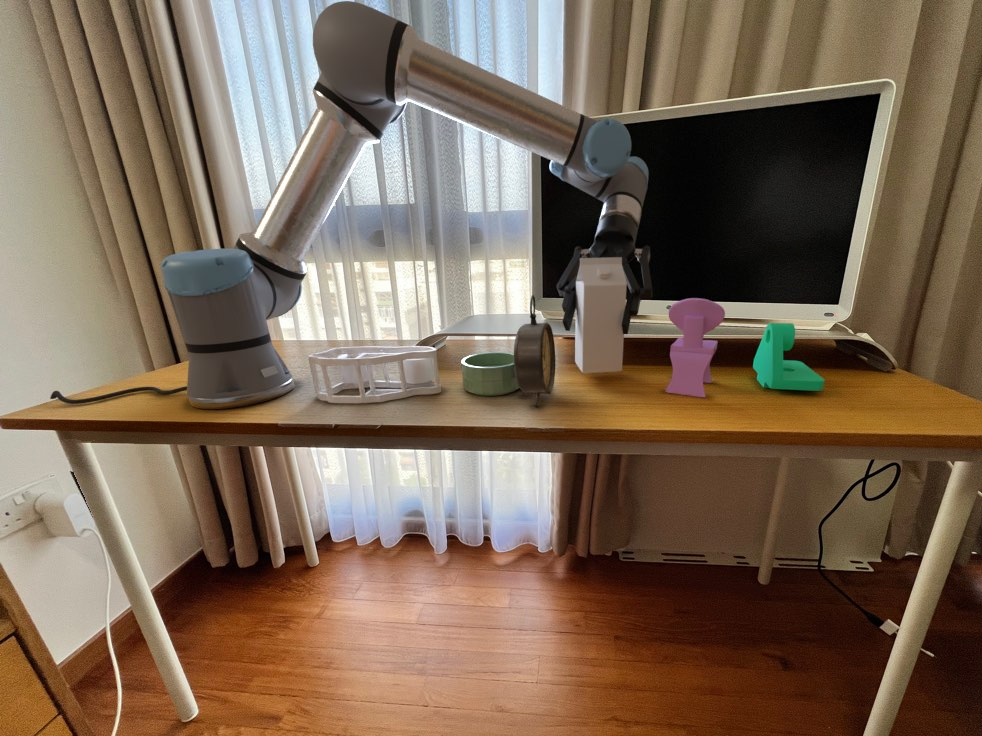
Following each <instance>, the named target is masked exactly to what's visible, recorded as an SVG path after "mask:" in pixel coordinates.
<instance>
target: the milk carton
mask: <svg viewBox="0 0 982 736" xmlns="http://www.w3.org/2000/svg"><path fill="white" fill-rule="evenodd" d="M627 287H628V285H627V283H626V279H625V275H624V271H623V267H622V257H610V258H591V257H587V258H580V267H579V271H578V274H577V279H576V309H575V321H574V322H575V325H574V327H575V328H574V329H575V330H574V331H575V332H574V363H575V364H576V366H577V368H578V369H579V370H580V372H581V373H582V374H596V373H597V374H598V373H616V372H617V373H618V372H619V373H620V372H622V371H623V358H624V340H625V334H623V330H622V320H623V316H624V311H625V306H626V301H627Z"/></svg>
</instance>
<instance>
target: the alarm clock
mask: <svg viewBox="0 0 982 736" xmlns="http://www.w3.org/2000/svg"><path fill="white" fill-rule="evenodd" d="M529 314H530V315H529V318H530V323H524V324H522V325H521V326H520V327H519V328H518V330H517V332H516V335H515V339H514V344H513V354H514V364H513V367H514V369H515V375H516V379H517V383H518V385H519V387H520V388H519V389H520V390H521V391H522V392H523V394H522V396H521V397H523V396H524V395H525V394H527V395H534V408H539V401H540V395H542V394H543V395H549V394H551V392H552V391H553V390H554V389H553V388H554V385H555V378H556V345H555V338H554V332H553V329H552V326H551V324H550V323H549V322H537V314H536V297H535V295H534V294H532V295H531V297H530V301H529Z"/></svg>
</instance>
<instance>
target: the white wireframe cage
mask: <svg viewBox="0 0 982 736" xmlns="http://www.w3.org/2000/svg"><path fill="white" fill-rule="evenodd" d="M335 356H337V357H335ZM308 363H309V369H310V372H311V373H310V374H311V377H312V382H313V385H314V391H315V394H316V398H317V399H318V400H319V401H326V402H327V403H329V404H369V403H384V402H387V401H392V400H400V399H404V398H408V397H411V396H412V397H413V396H417V395H418V396H419V395H435V394H439V393H441V392H442V385H441V383H440V381H441V380H440V372H439V365H438V351H437V348H435V347H433V346H425V345H405V346H379V345H378V346H377V345H374V346H373V345H363V346H362V345H360V346H349V347H348V346H343V347H342V346H341V347H333V348H330V349H328V350H324V351H320V352H316V353H312V354H311V353H310V354H308ZM388 363H397V366H398V367H397V368H398V373H399V378H400V379H399V380H400V381H398V380H397V381H396V380H395V381H394V380H391V379H390V378H391V377H390V372H389V365H388ZM317 365H319V366H320V367H321V372H322V377H323V380H324V385H325V388H324V389H322V388H321V384H320V379H319V375H318V370H317ZM377 365H381V366H382V370H383V377H384V380H375V378H376V377H377V376H376V369H375V366H377ZM328 367H338V370H339V374H340V380H341V382H339V383H337V384H335V385H333V386H332V383H331V379H330V374H329V368H328ZM365 388H369V390H368V391H367V392H366V389H365ZM379 388H380V389H379ZM385 388H386V389H385ZM347 389H348V390H351V389H358V391H359V395H336V394H338V393H339V392H341V391H343V390H347Z"/></svg>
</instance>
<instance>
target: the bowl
mask: <svg viewBox="0 0 982 736" xmlns="http://www.w3.org/2000/svg"><path fill="white" fill-rule="evenodd" d="M513 364H514V352H513V353H512V352H505V351H488V352H480V353H474V354H470V355H468V356H465V357H463V358H462V359H461V361H460V365H461V366H460V367H461V376H462V386H463V389H464V390H465V391H467V392H469V393H471V394H473V395H477V396H483V397H484V396H485V397H494V396H503V395H508V394H511V393H513V392H515V391H517V390H518V389H520V387H519V385H518V383H517V379H516V375H515V369H514V367H513Z"/></svg>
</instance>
